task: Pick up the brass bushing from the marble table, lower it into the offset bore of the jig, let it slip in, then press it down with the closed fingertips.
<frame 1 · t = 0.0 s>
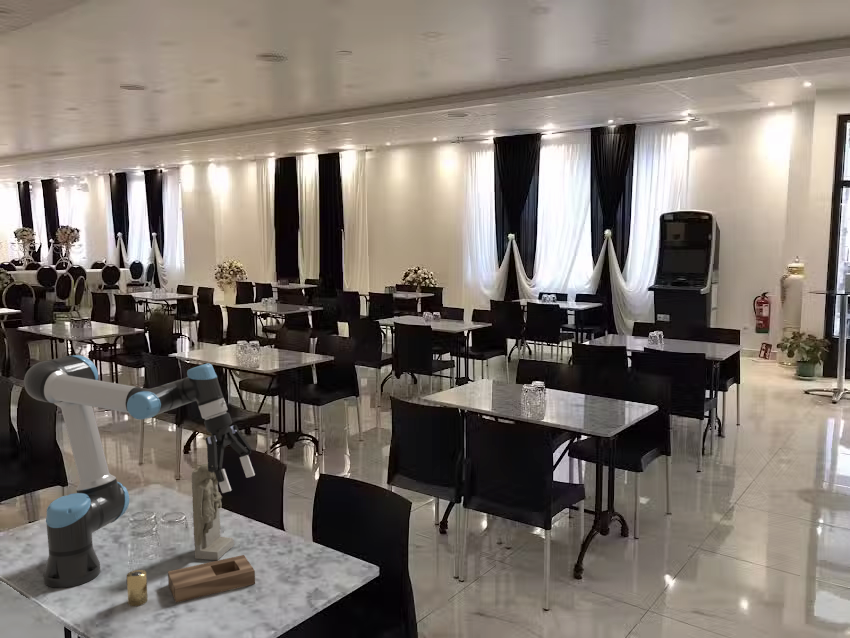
hand: (239, 484, 206), 28 cm above the table, tool tilted 20°, fingers open, 13 cm apart
sculpture: (213, 553, 224), on the table
bushing: (137, 601, 193), on the table
jig: (211, 584, 203), on the table
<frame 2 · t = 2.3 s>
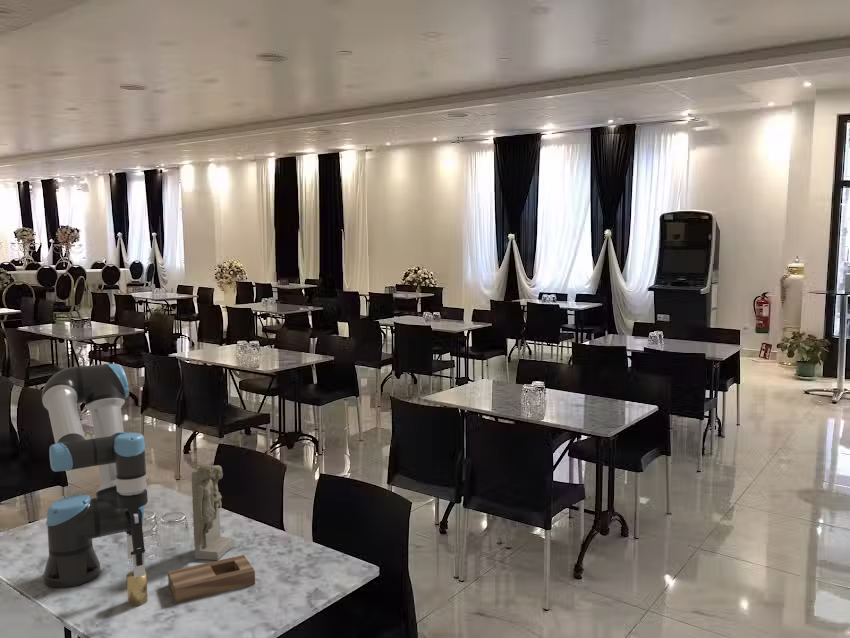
hand: (136, 566, 192), 10 cm above the table, tool pointing down, fingers open, 13 cm apart
nothing on the table moved.
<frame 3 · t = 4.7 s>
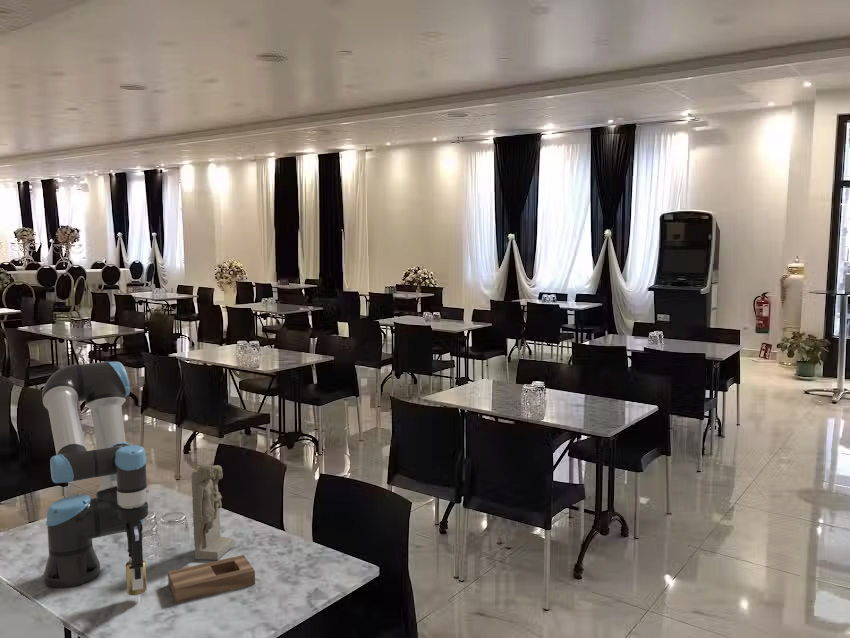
hand: (136, 584, 193), 5 cm above the table, tool pointing down, fingers closed on bushing, 5 cm apart
bushing: (136, 590, 194), point 3 cm above the table, touching gripper
everything else where it was.
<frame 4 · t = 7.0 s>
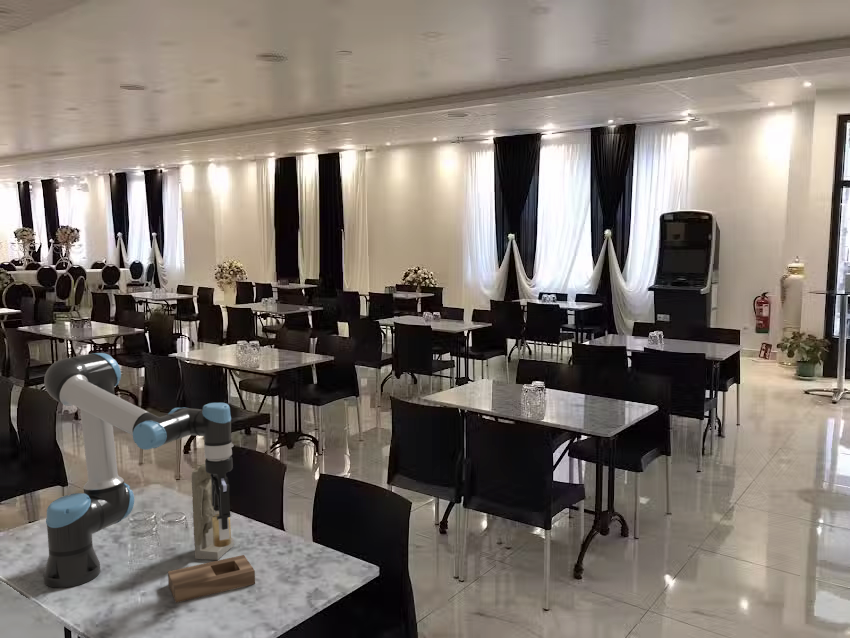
hand: (222, 535, 203), 14 cm above the table, tool pointing down, fingers closed on bushing, 5 cm apart
bushing: (222, 543, 203), point 12 cm above the table, touching gripper
everything else where it was.
when the fingers open (6 cm above the table, at t = 9.3 s): bushing drops 3 cm, resting in jig.
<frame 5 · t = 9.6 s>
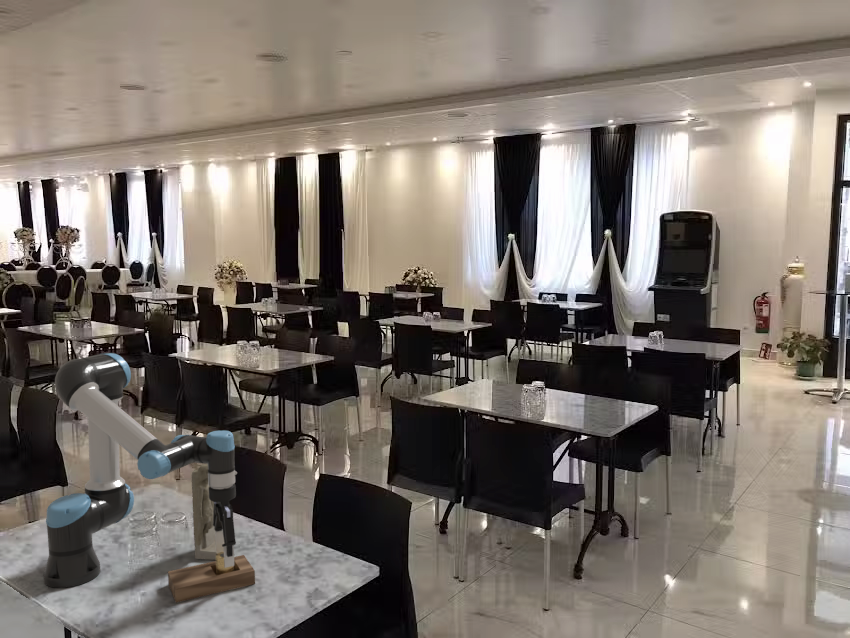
hand: (224, 559, 204), 7 cm above the table, tool pointing down, fingers open, 10 cm apart
bushing: (225, 581, 205), resting in jig
everything else where it was.
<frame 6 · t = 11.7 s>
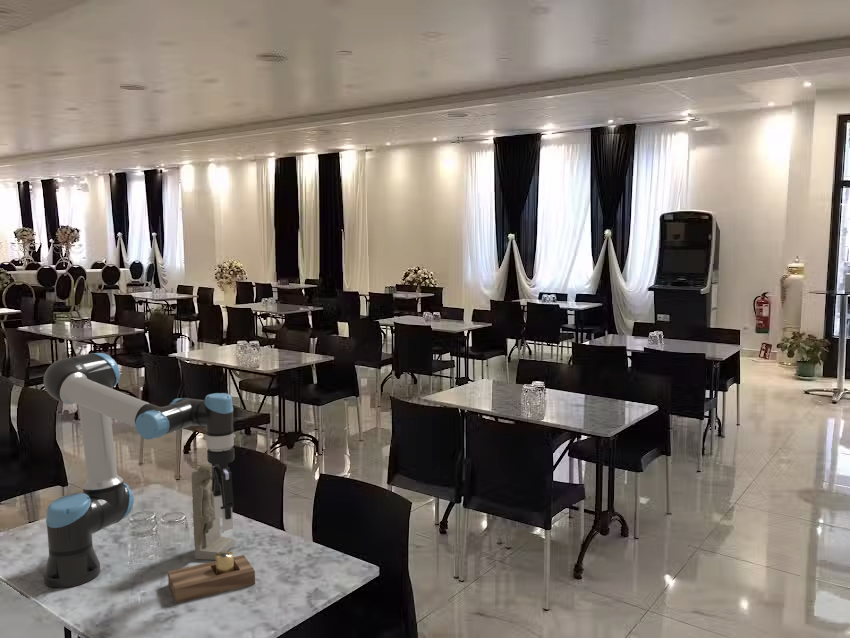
hand: (223, 523, 203), 18 cm above the table, tool pointing down, fingers open, 9 cm apart
nothing on the table moved.
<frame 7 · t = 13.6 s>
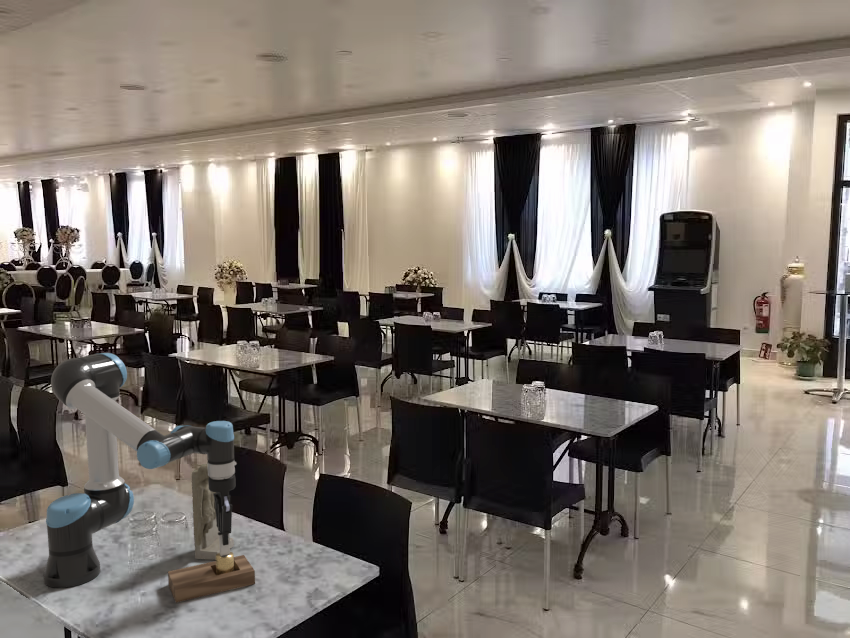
hand: (224, 553, 204), 8 cm above the table, tool pointing down, fingers closed
bushing: (225, 581, 205), resting in jig, touching gripper
everything else where it was.
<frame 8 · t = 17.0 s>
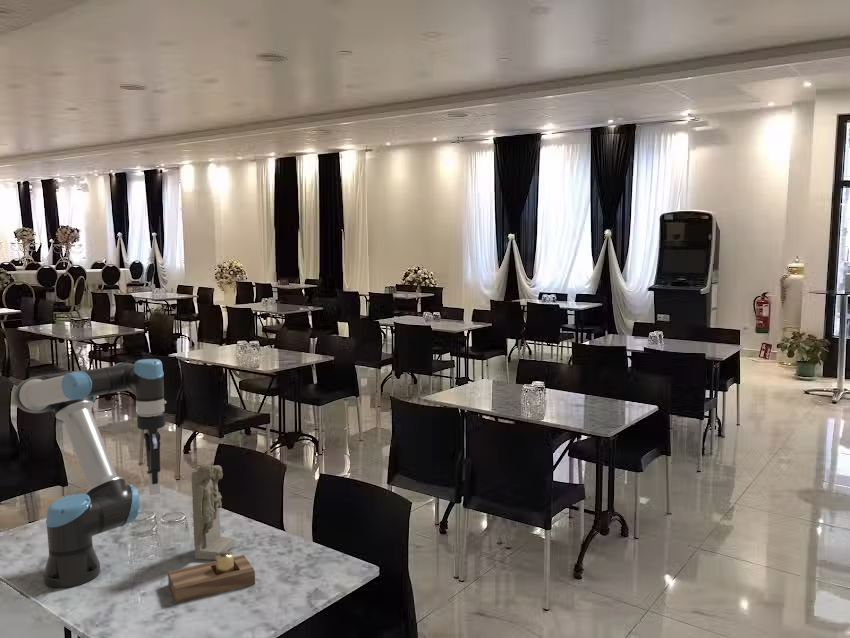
hand: (154, 493, 203), 26 cm above the table, tool pointing down, fingers closed
bushing: (225, 581, 205), resting in jig
everything else where it was.
at the end: bushing 0.1 cm from the target spot on the jig, point 0.0 cm above the jig's base; bushing tilted 0°; the gripper is holding nothing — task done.
